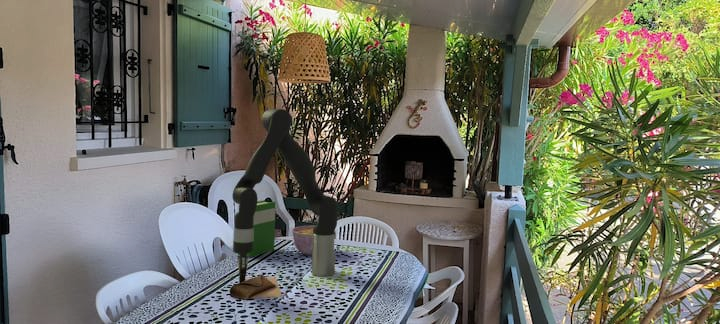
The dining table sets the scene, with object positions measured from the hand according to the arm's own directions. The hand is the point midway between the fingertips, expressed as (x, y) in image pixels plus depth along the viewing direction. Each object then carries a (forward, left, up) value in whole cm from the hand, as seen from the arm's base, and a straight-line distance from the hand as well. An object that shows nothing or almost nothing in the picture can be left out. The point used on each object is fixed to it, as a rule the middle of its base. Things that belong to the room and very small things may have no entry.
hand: (242, 284), depth 186 cm
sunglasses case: (-4, +4, -2) cm, 6 cm away
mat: (-8, 0, -2) cm, 8 cm away
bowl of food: (-35, -46, -2) cm, 58 cm away
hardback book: (-9, -51, -2) cm, 52 cm away
